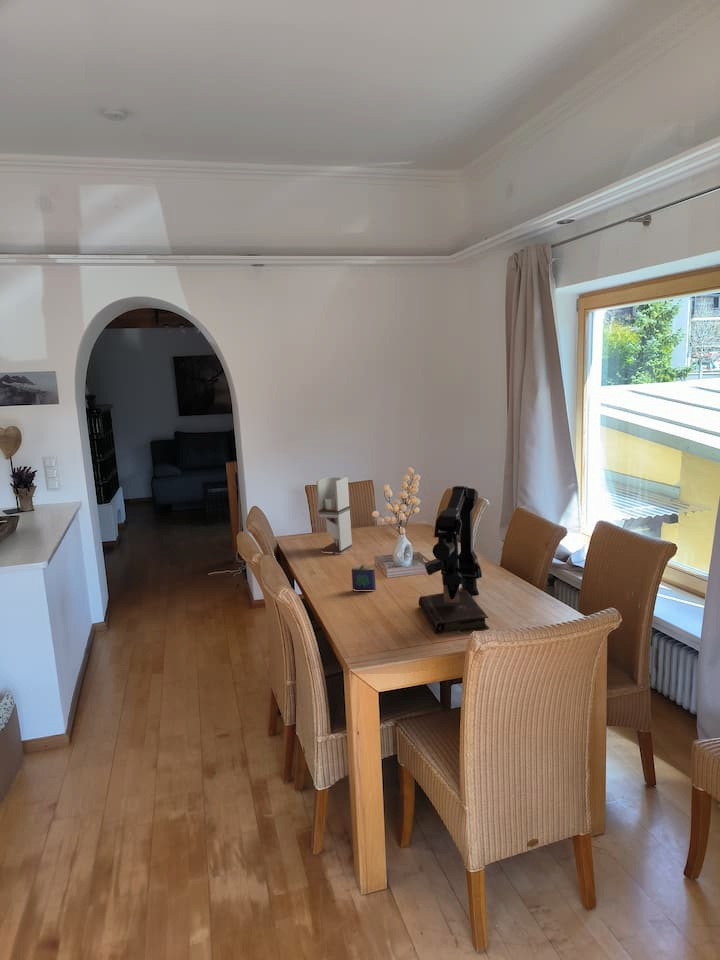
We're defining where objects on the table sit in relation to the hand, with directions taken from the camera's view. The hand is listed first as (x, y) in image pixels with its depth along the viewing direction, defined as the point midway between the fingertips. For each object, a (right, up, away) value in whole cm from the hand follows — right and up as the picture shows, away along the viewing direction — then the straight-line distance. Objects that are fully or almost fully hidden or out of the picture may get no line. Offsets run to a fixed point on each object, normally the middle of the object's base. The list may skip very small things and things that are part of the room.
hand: (451, 596), depth 214 cm
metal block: (0, -1, 0) cm, 1 cm away
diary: (+1, -8, +1) cm, 8 cm away
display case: (-42, +5, +92) cm, 101 cm away
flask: (-29, -4, +33) cm, 45 cm away
